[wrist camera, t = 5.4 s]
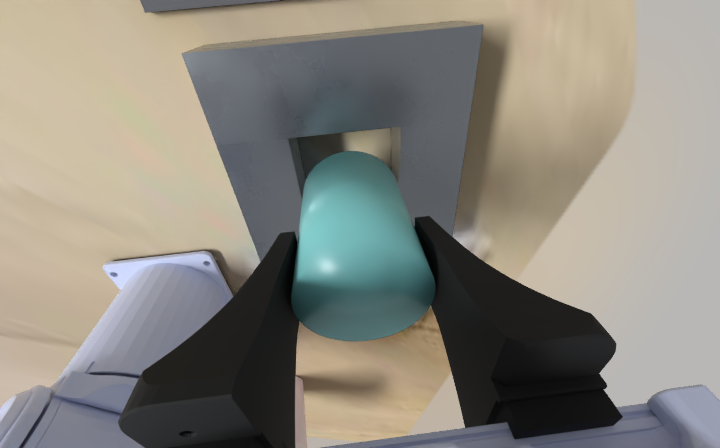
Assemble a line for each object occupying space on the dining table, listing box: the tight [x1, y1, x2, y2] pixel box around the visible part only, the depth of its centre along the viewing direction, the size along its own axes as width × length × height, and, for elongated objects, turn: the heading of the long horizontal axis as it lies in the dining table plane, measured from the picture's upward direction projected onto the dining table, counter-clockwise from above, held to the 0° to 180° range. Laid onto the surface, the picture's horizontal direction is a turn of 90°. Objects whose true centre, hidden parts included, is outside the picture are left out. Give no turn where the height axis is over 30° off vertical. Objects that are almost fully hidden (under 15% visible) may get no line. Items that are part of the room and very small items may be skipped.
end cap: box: [291, 151, 436, 341], centre depth 13 cm, size 5×5×7 cm
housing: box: [182, 21, 483, 261], centre depth 18 cm, size 14×13×3 cm
